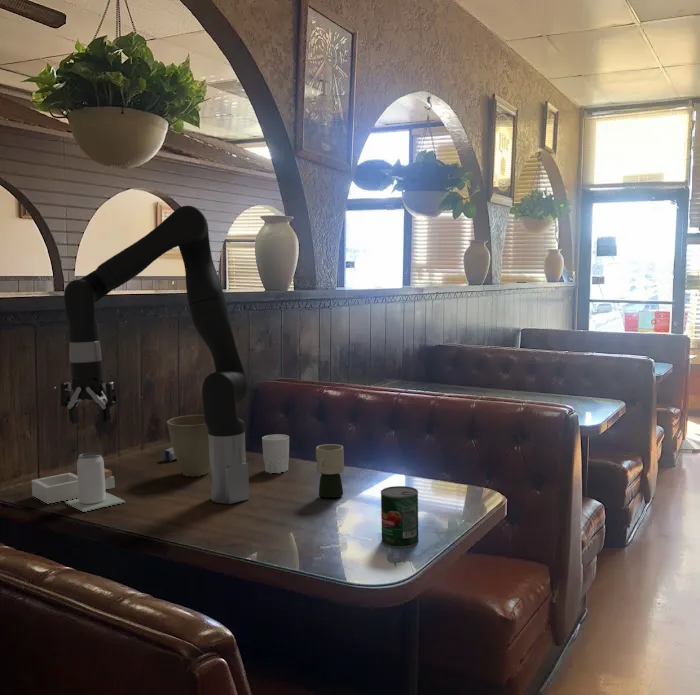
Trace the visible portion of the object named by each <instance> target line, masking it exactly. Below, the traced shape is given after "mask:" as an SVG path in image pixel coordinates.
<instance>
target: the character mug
mask: <svg viewBox="0 0 700 695" xmlns="http://www.w3.org/2000/svg"><path fill="white" fill-rule="evenodd" d="M344 452H345V451H344V446H343V445H341V444H336V443H334V444H333V443H332V444H331V443H329V444H328V443H325V444H320V445H317V446H316V447H315V458H316V467H315V468H316V471H317V472H318V473H319V474H320V479H319V487H318V496H319V497H320V498H321V497H322V498H323V497H324V498H327V499H330V498H339V497H342V496H343V495H344V490H343V489H344V488H343V482H342V476H341V474H340V473H342V472H344V470H345V462H344V461H345V460H344V459H345V458H344V457H345V456H344V454H345V453H344Z"/></svg>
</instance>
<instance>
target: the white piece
mask: <svg viewBox="0 0 700 695" xmlns="http://www.w3.org/2000/svg"><path fill="white" fill-rule="evenodd" d="M115 482H116V481H115V476H113V475H112V476H111V477H106V478H105V491H106V489H107V490H110V489H111V490H112V489H115V488H116V484H115ZM31 490H32V491H31V493H32V494H31V495H32V497H33V496H34V497H36V498H38V499H40V500H41V501H43V502H45V503H47V504H49V503H55V502H59V503H61V502H60V501H64V502H65V501H66V500H68V501H70V500H72V499H73V500H74V499H76V498H77V499H79V491H78V475H77V474H74V473H72V472H67V473H62V474H56V475H52V476H45V477H42V478H41V477H40V478H36V479H31ZM34 497H33V498H34ZM36 498H35V499H36ZM41 501H40V502H41ZM43 502H42V503H43ZM45 503H44V504H45ZM55 504H56V503H55Z"/></svg>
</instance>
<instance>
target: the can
mask: <svg viewBox="0 0 700 695" xmlns="http://www.w3.org/2000/svg"><path fill="white" fill-rule="evenodd" d="M77 457H78V459H77V460H76V469H77V470H76V471H77V472H76V473H77V474H76V475H77V476H78V491H79V498H78V499H79V502H81V504H86V505H89V504H97V503H101V502H103V501H104V500H105V499H106V490H105V474H104V468H105V463H104V462H105V461H104V458H103V457H102V453H101V452H93V451H92V452H86V453H82V454H81V453H80V454H79V455H78V456H77Z"/></svg>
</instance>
